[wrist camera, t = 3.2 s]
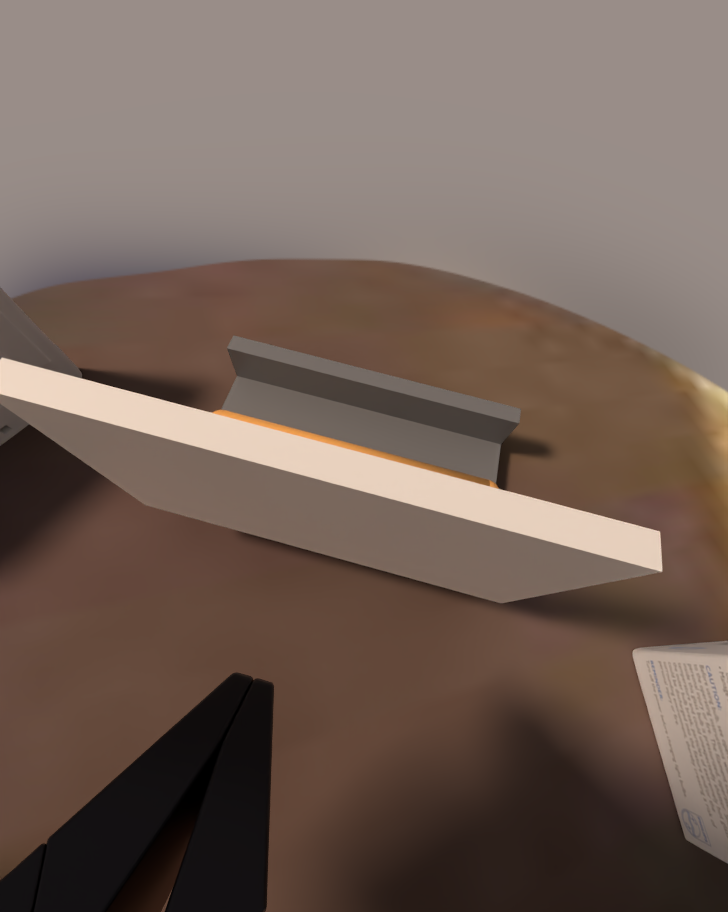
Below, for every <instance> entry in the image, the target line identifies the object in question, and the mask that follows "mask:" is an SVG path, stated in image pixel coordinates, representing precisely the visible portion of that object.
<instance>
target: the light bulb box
mask: <svg viewBox="0 0 728 912" xmlns="http://www.w3.org/2000/svg"><path fill="white" fill-rule="evenodd" d="M633 660H634V663H635V667H636V671H637V674H638V678H639V681H640V685H641V688H642V692H643V695H644V698H645V702H646V705H647V709H648V713H649V716H650V720H651V723H652V726H653V730H654V733H655V737H656V740H657V744H658V747H659V750H660V754H661V757H662V760H663V764H664V768H665V771H666V775H667V778H668V781H669V785H670V788H671V792H672V795H673V799H674V802H675V806H676V809H677V813H678V816H679V819H680V823H681V826H682V830H683V833H684V836H685V839H686V840H687V841H689V842H690V843H692V844H694V845H695V846H697V847H699V848H701V849H702V850H704V851H706V852H708V853H710V854H711V855H713V856H715V857H716V858H718V859H720V860H722V861H724V862H725V863H727V864H728V641H718V642H705V643H691V644H679V645H667V646H655V647H644V648H637V649H634V650H633Z"/></svg>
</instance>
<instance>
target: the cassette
mask: <svg viewBox="0 0 728 912" xmlns="http://www.w3.org/2000/svg"><path fill="white" fill-rule="evenodd" d="M1 358H6V359H10V360H13V361H17V362H21V363H25V364H29V365H32V366H36V367H40V368H44V369H47V370H51V371H55V372H59V373H63V374H66V375H70V376H74V377H78V378H82V373H81V372H80V371H79V370H80V369H79V368H78V367H77V366H76V365H75V364H74V363H73V362H72V361H71V360H70V359H69V358H68V357H67V356H66V355H65V354H64V353H63V352H62V350H61V349H60V348H59V347H58V346H56V345H55V344H54V343H53V342H52V341H51V340H50V339H49V338H48V337H47V336H46V335H45V334H44V333H43V332H42V331H41V330H40V329H39V328H38V326H37V325H36V324H35V323H34V322H33V321H32V320H31V319H30V318H29V317H28V316H27V315H26V314H25V313H24V312H23V311H22V310H21V309H20V308H19V307H18V305H17V304H16V303H15V302H14V301H13V300H12V299H11V298H10V297H9V296H8V295H7V294H6V293H5V292H4V291H3V290H2V289H1V288H0V359H1ZM28 425H29V423H27V422H26V421H24V420H23V419H21V418H20V417H19V416H17V415H16V414H14V413H13V412H11V411H10V410H9V409H7V408H6V407H4V406H3V405H1V404H0V446H1V445H2V444H4V443H5V442H6V441H8V440H9V439H10V438H12V437H13V436H14V435H16V434H17V433H18V432H20V431H21V430H22V429H24V428H25V427H26V426H28Z"/></svg>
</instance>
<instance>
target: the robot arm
mask: <svg viewBox="0 0 728 912" xmlns="http://www.w3.org/2000/svg"><path fill="white" fill-rule="evenodd" d="M273 701H274V685H273V683H272V682H268V681H265V680H262V679H255V680H254V681H253V678H252V677H251V676H248V675H245V674H241V673H237V672H236V673H233V674H232V675H230V676H229V677H228V678H227V679H226V680H225V681H223V682H222V683H221V684H220V685H219V686H218V687H217V688H216V689H215V690H213V691H212V692H211V693H210V694H209V695H208V696H207V697H206V698H204V699H203V700H202V701H201V702H200V703H199V704H198V705H197V706H196V707H194V708H193V709H192V710H191V711H190V712H189V713H188V714H187V715H186V716H184V717H183V718H182V719H181V720H180V721H179V722H178V723H177V724H175V725H174V726H173V727H172V728H171V729H170V730H169V731H168V732H167V733H165V734H164V735H163V736H162V737H161V738H160V739H159V740H158V741H156V742H155V743H154V744H153V745H152V746H151V747H150V748H149V749H148V750H146V751H145V752H144V753H143V754H142V755H141V756H140V757H139V758H137V759H136V760H135V761H134V762H133V763H132V764H131V765H130V766H129V767H127V768H126V769H125V770H124V771H123V772H122V773H121V774H120V775H118V776H117V777H116V778H115V779H114V780H113V781H112V782H111V783H110V784H108V785H107V786H106V787H105V788H104V789H103V790H102V791H101V792H99V793H98V794H97V795H96V796H95V797H94V798H93V799H92V800H91V801H89V802H88V803H87V804H86V805H85V806H84V807H83V808H82V809H80V810H79V811H78V812H77V813H76V814H75V815H74V816H73V817H72V818H70V819H69V820H68V821H67V822H66V823H65V824H64V825H63V826H61V827H60V828H59V829H58V830H57V831H56V832H55V833H54V834H53V835H51V836H50V837H49V839H48V840H47V844H45V843H43V844H41V845H40V846H39V847H38V848H37V849H35V850H34V851H33V852H32V853H31V854H30V855H29V856H28V857H27V858H25V859H24V860H23V861H22V862H21V863H20V864H19V865H18V866H17V867H15V868H14V869H13V870H12V871H11V872H10V873H9V874H7V875H6V876H5V877H4V878H3V879H2V880H0V912H161V910H162V908H163V906H164V904H165V902H166V900H167V898H168V896H169V894H170V892H171V890H172V892H171V895H170V898H169V901H168V904H167V907H166V910H165V912H265V911H266V907H267V879H268V850H269V820H270V790H271V761H272V731H273ZM172 888H173V889H172Z"/></svg>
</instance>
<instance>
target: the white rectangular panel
mask: <svg viewBox="0 0 728 912" xmlns="http://www.w3.org/2000/svg"><path fill="white" fill-rule="evenodd" d="M0 404H1V405H3V406H4V407H6V408H7V409H9V410H10V411H11V412H13V413H14V414H16V415H17V416H19V417H20V418H21V419H23V420H24V421H26V422H27V423H29V424H30V425H31V426H33V427H34V428H36V429H37V430H39V431H40V432H41V433H43V434H44V435H46V436H47V437H49V438H50V439H51V440H53V441H54V442H56V443H57V444H59V445H60V446H61V447H63V448H64V449H66V450H67V451H69V452H70V453H71V454H73V455H74V456H76V457H77V458H79V459H80V460H81V461H83V462H84V463H86V464H87V465H89V466H90V467H91V468H93V469H94V470H96V471H97V472H99V473H100V474H102V475H103V476H104V477H106V478H107V479H109V480H110V481H112V482H113V483H114V484H116V485H117V486H119V487H120V488H122V489H123V490H124V491H126V492H127V493H129V494H130V495H132V496H133V497H134V498H136V499H137V500H139V501H140V502H142V503H143V504H144V505H147V506H150V507H154V508H158V509H161V510H165V511H168V512H172V513H176V514H179V515H183V516H187V517H190V518H194V519H197V520H201V521H205V522H208V523H212V524H215V525H219V526H223V527H226V528H230V529H234V530H237V531H241V532H244V533H248V534H252V535H255V536H259V537H263V538H266V539H270V540H273V541H277V542H281V543H284V544H288V545H291V546H295V547H299V548H302V549H306V550H310V551H313V552H317V553H320V554H324V555H328V556H331V557H335V558H338V559H342V560H346V561H349V562H353V563H357V564H360V565H364V566H367V567H371V568H375V569H378V570H382V571H385V572H389V573H393V574H396V575H400V576H404V577H407V578H411V579H414V580H418V581H422V582H425V583H429V584H433V585H436V586H440V587H443V588H447V589H451V590H454V591H458V592H461V593H465V594H469V595H472V596H476V597H480V598H483V599H487V600H490V601H494V602H498V603H506V602H511V601H516V600H522V599H527V598H532V597H537V596H542V595H547V594H552V593H557V592H562V591H567V590H573V589H578V588H583V587H588V586H593V585H598V584H603V583H608V582H613V581H618V580H624V579H629V578H634V577H639V576H644V575H649V574H654V573H659V572H662V557H661V540H660V531H656V530H652V529H648V528H645V527H641V526H637V525H633V524H629V523H626V522H622V521H618V520H614V519H611V518H607V517H603V516H599V515H595V514H592V513H588V512H584V511H580V510H577V509H573V508H569V507H565V506H561V505H558V504H554V503H550V502H546V501H542V500H539V499H535V498H531V497H527V496H524V495H520V494H516V493H512V492H508V491H505V490H501V489H497V488H493V487H490V486H486V485H482V484H478V483H474V482H471V481H467V480H463V479H459V478H456V477H452V476H448V475H444V474H440V473H437V472H433V471H429V470H425V469H422V468H418V467H414V466H410V465H406V464H403V463H399V462H395V461H391V460H388V459H384V458H380V457H376V456H372V455H369V454H365V453H361V452H357V451H354V450H350V449H346V448H342V447H338V446H335V445H331V444H327V443H323V442H320V441H316V440H312V439H308V438H304V437H301V436H297V435H293V434H289V433H286V432H282V431H278V430H274V429H270V428H267V427H263V426H259V425H255V424H251V423H248V422H244V421H240V420H236V419H233V418H229V417H225V416H221V415H217V414H214V413H210V412H206V411H202V410H199V409H195V408H191V407H187V406H183V405H180V404H176V403H172V402H168V401H165V400H161V399H157V398H153V397H149V396H146V395H142V394H138V393H134V392H131V391H127V390H123V389H119V388H115V387H112V386H108V385H104V384H100V383H97V382H93V381H89V380H85V379H81V378H78V377H74V376H70V375H66V374H63V373H59V372H55V371H51V370H47V369H44V368H40V367H36V366H32V365H29V364H25V363H21V362H17V361H13V360H10V359H6V358H1V359H0Z"/></svg>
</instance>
